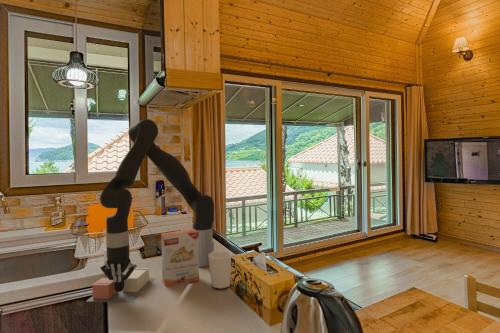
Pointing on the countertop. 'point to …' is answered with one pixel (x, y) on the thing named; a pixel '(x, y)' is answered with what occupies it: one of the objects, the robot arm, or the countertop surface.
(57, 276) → the countertop surface
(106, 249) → the medicine bottle
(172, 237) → the cracker box
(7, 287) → the countertop surface
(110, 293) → the stub
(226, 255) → the cup
